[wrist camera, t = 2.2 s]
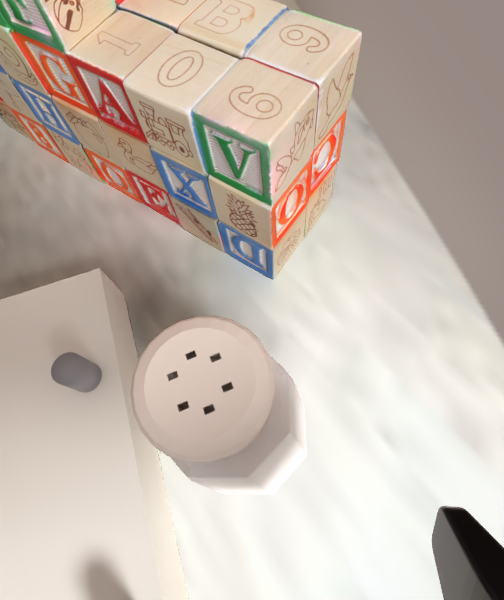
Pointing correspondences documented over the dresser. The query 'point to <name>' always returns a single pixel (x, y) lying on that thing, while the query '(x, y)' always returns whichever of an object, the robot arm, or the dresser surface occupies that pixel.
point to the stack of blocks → (189, 108)
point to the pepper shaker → (219, 406)
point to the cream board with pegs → (78, 453)
